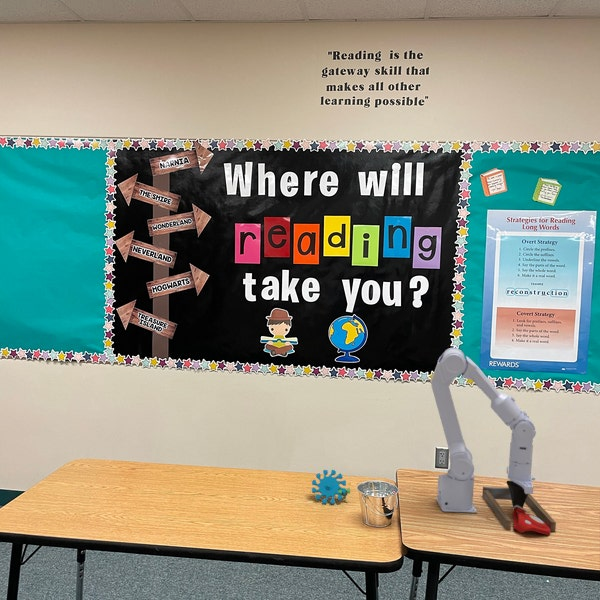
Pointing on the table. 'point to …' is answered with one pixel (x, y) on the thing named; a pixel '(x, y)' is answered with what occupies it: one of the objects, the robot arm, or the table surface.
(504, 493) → the frame
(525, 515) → the tracker holder
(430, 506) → the table surface
